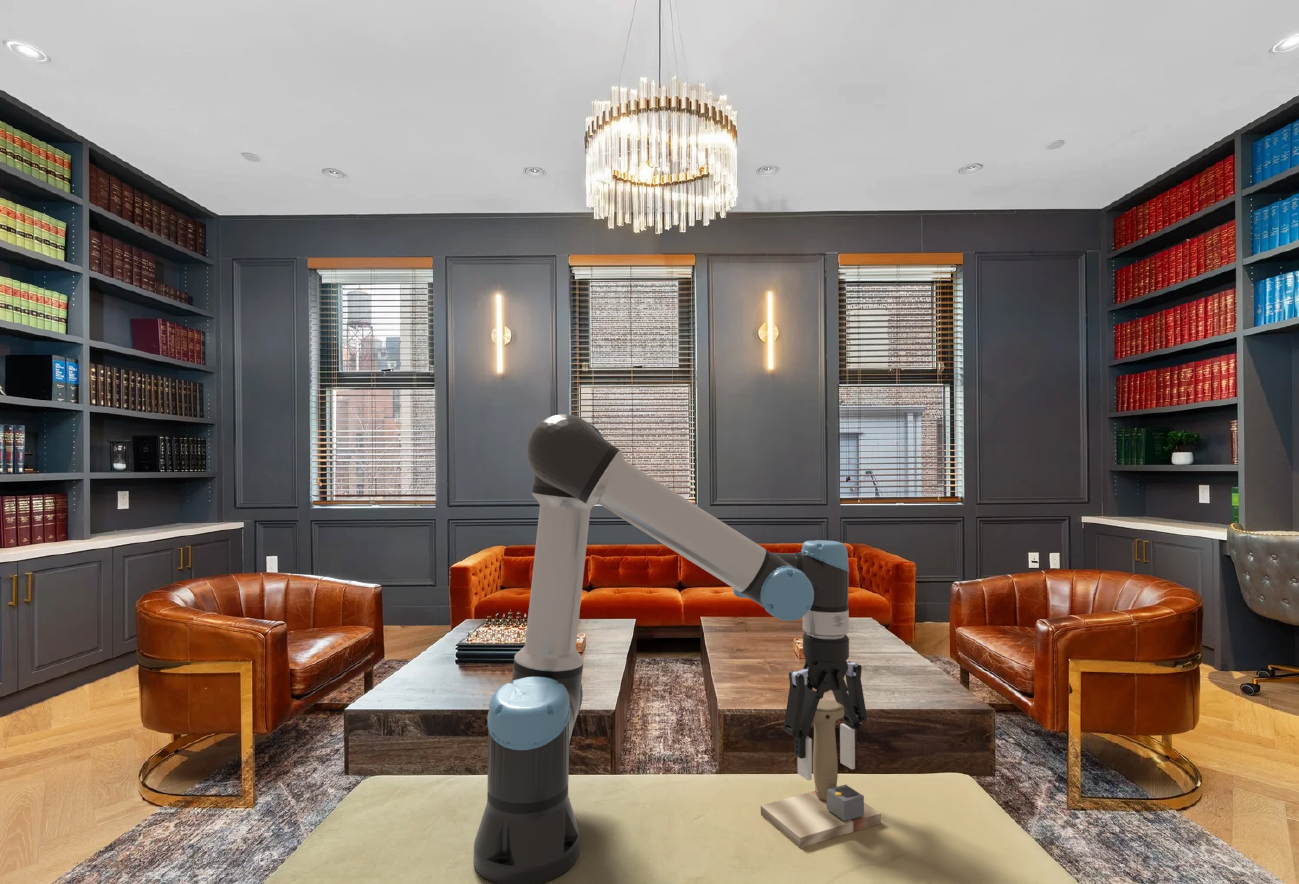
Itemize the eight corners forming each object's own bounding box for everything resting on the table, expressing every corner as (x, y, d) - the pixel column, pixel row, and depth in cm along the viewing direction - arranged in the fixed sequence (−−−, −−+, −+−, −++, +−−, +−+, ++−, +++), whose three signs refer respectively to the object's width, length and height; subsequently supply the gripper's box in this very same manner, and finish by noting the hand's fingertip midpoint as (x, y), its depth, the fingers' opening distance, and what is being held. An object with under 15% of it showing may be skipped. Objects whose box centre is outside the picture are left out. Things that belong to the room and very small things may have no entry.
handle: (849, 805, 103) (847, 711, 103) (809, 804, 103) (807, 711, 103) (841, 789, 108) (839, 700, 108) (803, 789, 108) (801, 700, 108)
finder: (844, 821, 98) (844, 800, 98) (826, 808, 101) (826, 788, 101) (863, 815, 99) (863, 794, 99) (845, 803, 103) (845, 783, 103)
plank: (800, 848, 94) (800, 837, 94) (760, 814, 103) (760, 805, 103) (881, 823, 100) (880, 813, 100) (837, 793, 109) (837, 784, 109)
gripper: (788, 646, 99) (789, 794, 98) (889, 632, 108) (890, 768, 107) (760, 634, 105) (760, 773, 104) (857, 622, 114) (858, 750, 113)
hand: (826, 770), depth 105 cm, fingers open, 8 cm apart
